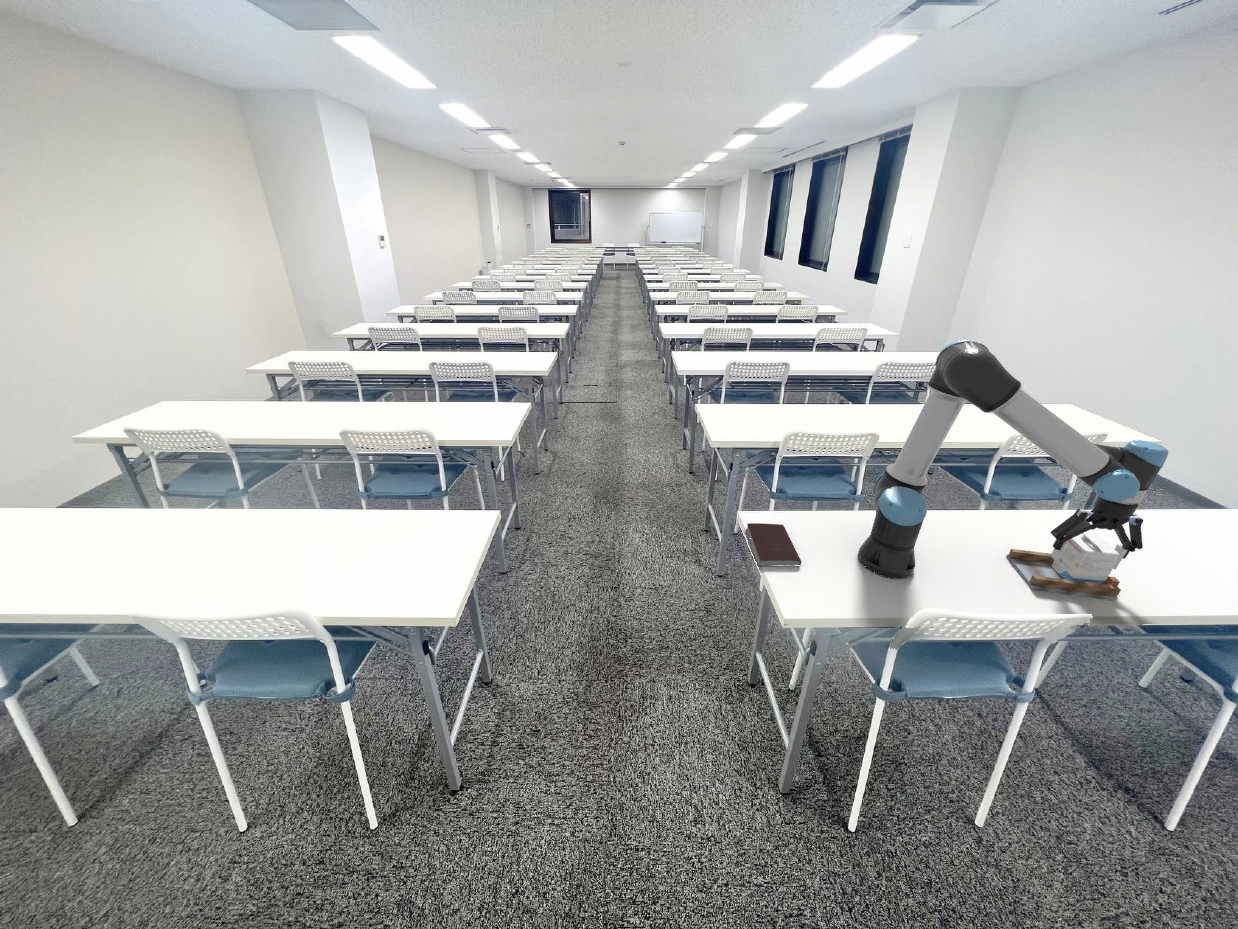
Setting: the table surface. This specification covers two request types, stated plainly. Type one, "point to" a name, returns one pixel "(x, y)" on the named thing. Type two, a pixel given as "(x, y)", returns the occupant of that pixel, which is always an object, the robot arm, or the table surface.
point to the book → (772, 544)
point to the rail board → (1057, 577)
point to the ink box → (1086, 560)
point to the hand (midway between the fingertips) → (1082, 562)
